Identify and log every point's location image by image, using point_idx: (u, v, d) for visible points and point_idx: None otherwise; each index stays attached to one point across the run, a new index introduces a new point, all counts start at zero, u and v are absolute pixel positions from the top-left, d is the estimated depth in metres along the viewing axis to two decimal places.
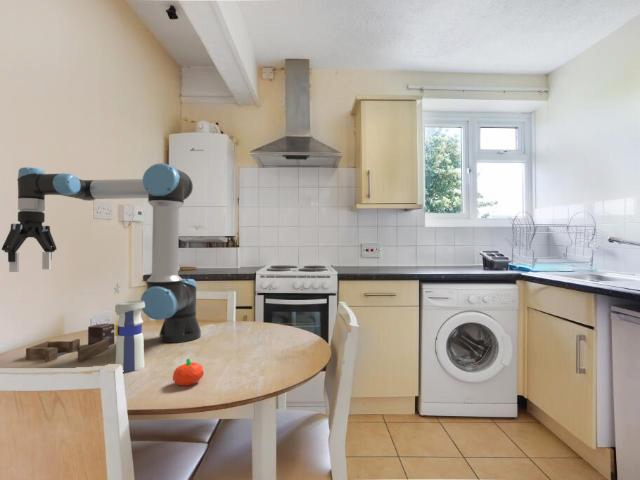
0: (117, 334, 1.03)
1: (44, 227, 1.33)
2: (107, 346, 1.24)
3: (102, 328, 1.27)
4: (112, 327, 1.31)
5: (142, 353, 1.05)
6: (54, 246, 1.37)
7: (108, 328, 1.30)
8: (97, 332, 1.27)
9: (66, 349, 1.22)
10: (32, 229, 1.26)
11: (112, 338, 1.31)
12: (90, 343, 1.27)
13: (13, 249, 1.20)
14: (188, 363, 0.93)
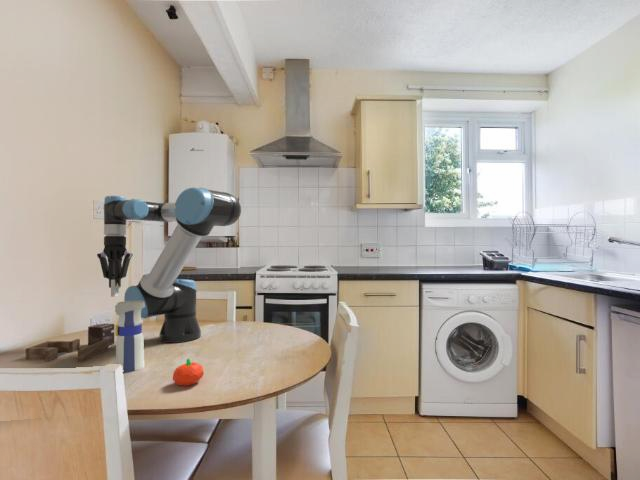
0: (117, 334, 1.03)
1: (126, 253, 1.39)
2: (107, 346, 1.24)
3: (102, 328, 1.27)
4: (112, 327, 1.31)
5: (142, 353, 1.05)
6: (121, 274, 1.38)
7: (108, 328, 1.30)
8: (97, 332, 1.27)
9: (66, 349, 1.22)
10: (108, 253, 1.37)
11: (112, 338, 1.31)
12: (90, 344, 1.27)
13: None
14: (188, 363, 0.93)
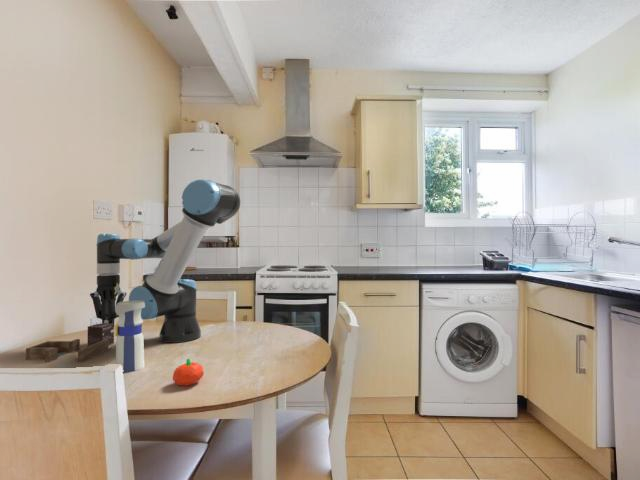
0: (117, 334, 1.03)
1: (120, 293, 1.34)
2: (107, 346, 1.24)
3: (102, 328, 1.27)
4: (112, 327, 1.31)
5: (142, 353, 1.05)
6: (114, 314, 1.33)
7: (108, 328, 1.30)
8: (97, 332, 1.27)
9: (66, 349, 1.22)
10: (101, 293, 1.33)
11: (111, 338, 1.31)
12: (90, 343, 1.27)
13: None
14: (188, 363, 0.93)
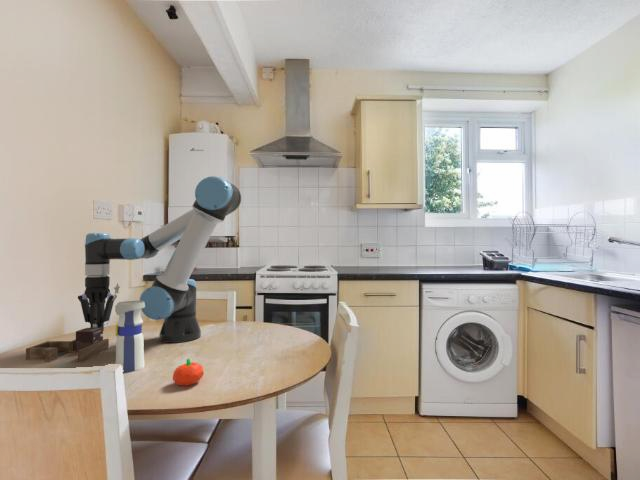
0: (117, 334, 1.03)
1: (110, 295, 1.28)
2: (107, 346, 1.24)
3: (93, 332, 1.21)
4: (101, 331, 1.25)
5: (142, 353, 1.05)
6: (104, 318, 1.27)
7: (98, 332, 1.24)
8: (87, 336, 1.21)
9: (66, 349, 1.22)
10: (89, 295, 1.26)
11: None
12: (79, 349, 1.20)
13: (90, 322, 1.27)
14: (188, 363, 0.93)
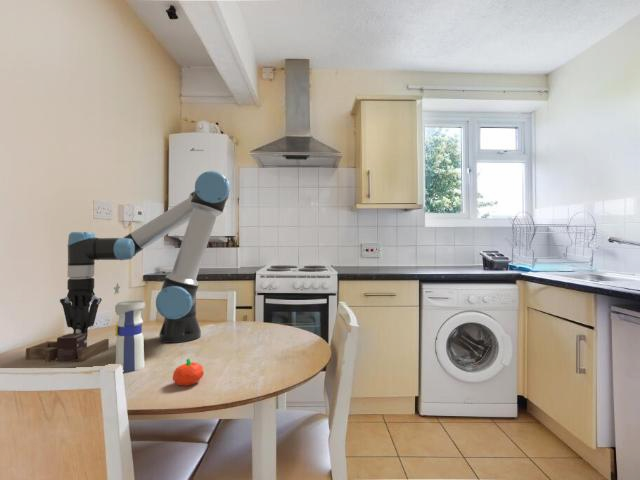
0: (117, 334, 1.03)
1: (94, 298, 1.19)
2: (107, 346, 1.24)
3: (76, 338, 1.12)
4: (85, 337, 1.17)
5: (142, 353, 1.05)
6: (87, 323, 1.18)
7: (82, 338, 1.15)
8: (70, 343, 1.12)
9: None
10: (72, 299, 1.18)
11: None
12: (60, 357, 1.12)
13: (73, 327, 1.19)
14: (188, 363, 0.93)
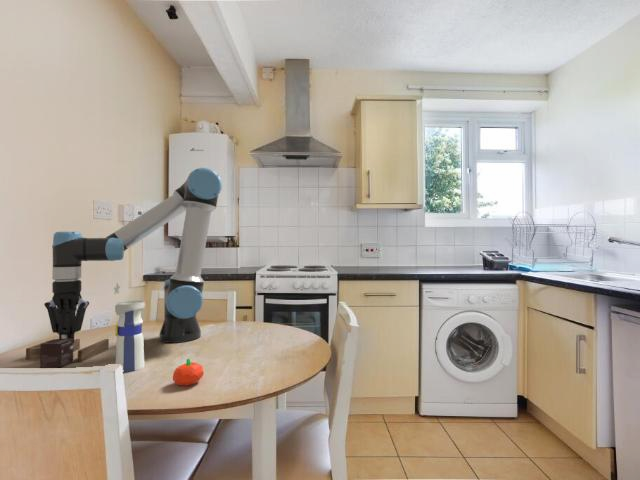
0: (117, 334, 1.03)
1: (81, 302, 1.13)
2: (107, 346, 1.24)
3: (60, 344, 1.06)
4: (71, 342, 1.10)
5: (142, 353, 1.05)
6: (74, 328, 1.12)
7: (67, 344, 1.09)
8: (53, 349, 1.05)
9: None
10: (57, 302, 1.11)
11: (70, 356, 1.10)
12: (44, 364, 1.05)
13: None
14: (188, 363, 0.93)
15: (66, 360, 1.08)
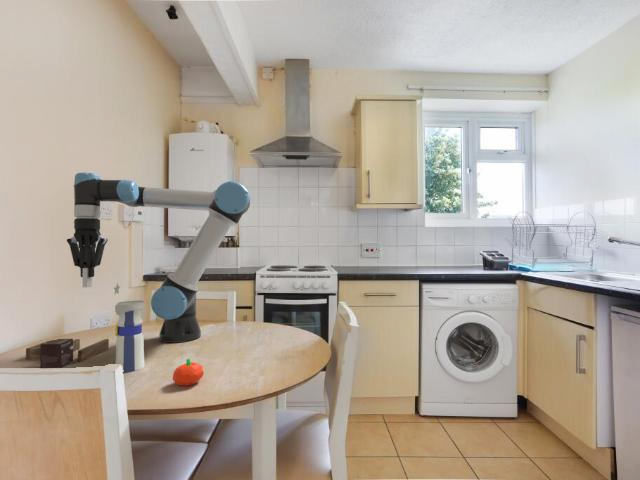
0: (117, 334, 1.03)
1: (100, 238, 1.22)
2: (107, 346, 1.24)
3: (60, 345, 1.06)
4: (71, 342, 1.10)
5: (142, 353, 1.05)
6: (94, 261, 1.21)
7: (67, 344, 1.09)
8: (53, 350, 1.05)
9: None
10: (79, 238, 1.21)
11: (71, 356, 1.10)
12: (44, 364, 1.05)
13: (80, 266, 1.22)
14: (188, 363, 0.93)
15: (66, 360, 1.08)
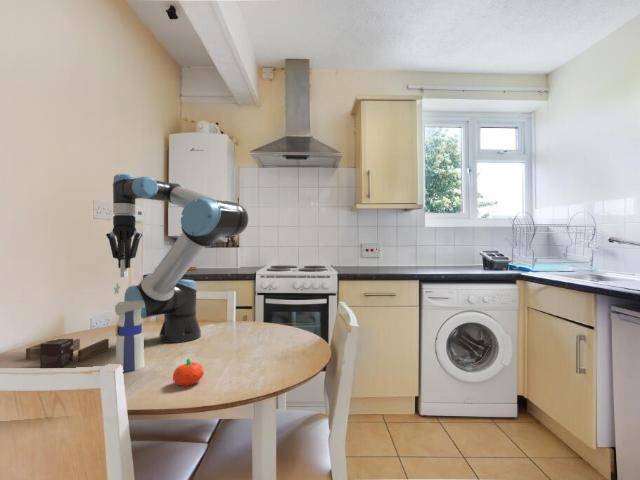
0: (117, 334, 1.03)
1: (136, 233, 1.36)
2: (107, 346, 1.24)
3: (60, 345, 1.06)
4: (71, 343, 1.10)
5: (142, 353, 1.05)
6: (131, 254, 1.35)
7: (67, 344, 1.09)
8: (53, 350, 1.05)
9: None
10: (117, 233, 1.35)
11: (71, 356, 1.10)
12: (44, 364, 1.05)
13: (118, 258, 1.36)
14: (188, 363, 0.93)
15: (66, 360, 1.08)
